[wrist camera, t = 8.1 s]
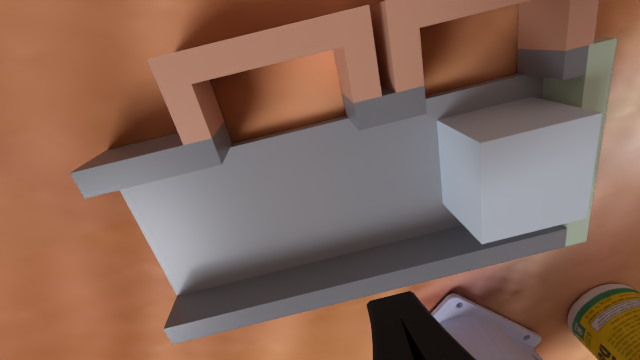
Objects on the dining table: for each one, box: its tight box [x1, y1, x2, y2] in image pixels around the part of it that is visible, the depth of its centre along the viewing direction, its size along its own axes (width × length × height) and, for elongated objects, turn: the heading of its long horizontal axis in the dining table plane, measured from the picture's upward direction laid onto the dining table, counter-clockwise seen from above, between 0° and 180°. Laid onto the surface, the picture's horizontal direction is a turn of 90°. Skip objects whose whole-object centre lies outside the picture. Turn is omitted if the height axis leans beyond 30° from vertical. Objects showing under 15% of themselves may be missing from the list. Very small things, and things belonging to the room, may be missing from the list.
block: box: [437, 97, 602, 244], centre depth 16 cm, size 5×5×4 cm
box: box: [70, 0, 617, 344], centre depth 16 cm, size 23×14×3 cm, turn 103°
